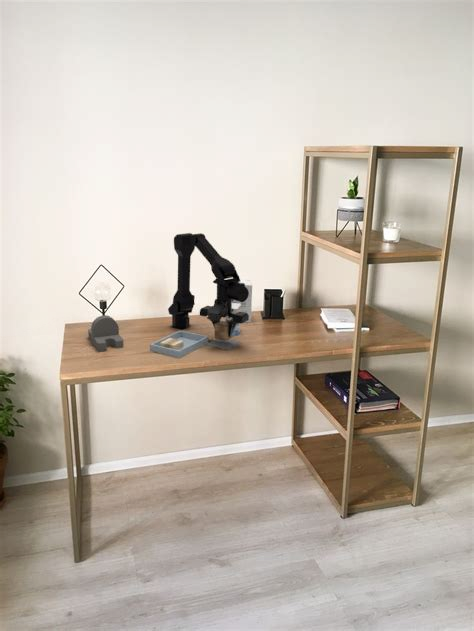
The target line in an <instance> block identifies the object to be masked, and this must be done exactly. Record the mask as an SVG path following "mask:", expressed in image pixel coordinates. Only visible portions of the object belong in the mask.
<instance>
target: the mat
mask: <svg viewBox="0 0 474 631" xmlns="http://www.w3.org/2000/svg"><path fill="white" fill-rule="evenodd" d="M241 343H242V341H239V340H236V339H229V340H227V341H222V340H217V339H215V338H214V339H213V340H211V341H210V342H209V343H207V344H205V346H209V347H214V348H217V349H223V350H227V351H229V350H231V349H232V348H234V347H235V346H238V345H239V344H241Z"/></svg>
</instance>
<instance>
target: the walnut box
mask: <svg viewBox="0 0 474 631" xmlns="http://www.w3.org/2000/svg"><path fill="white" fill-rule="evenodd" d="M228 330H229V324H228V323H227V322H226V320H225V321H224V320H220V322H218V323H216V324H215V329H214V340H215V339H217V340H222V341H227V340H229V339H230V340H232V339H233V335H231V337H229V336H228ZM232 334H233V333H232Z"/></svg>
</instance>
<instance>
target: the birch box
mask: <svg viewBox="0 0 474 631" xmlns="http://www.w3.org/2000/svg"><path fill="white" fill-rule="evenodd" d="M160 343H161V346H162V347H166V348H170V349H174V350H181V349H183V341H182V340H177V339H173V338H169V339H167V340H165V341H163V342H160Z"/></svg>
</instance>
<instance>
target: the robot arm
mask: <svg viewBox="0 0 474 631" xmlns="http://www.w3.org/2000/svg"><path fill="white" fill-rule="evenodd" d="M195 249H197V250H198V251H199V252H200V254H201V255H202V256H203V257H204V258H205V259H206V261H207V262H208V263H209V265H210V268H211V270H210V271H211V272H212V274H213V275H214V277H215V279H214V280H213V281H212V283H213V284H216V299H215V298H214V301H213V302H214V303H213V305H212V306H211V305H206V306H203V307H201V308H200V310H199V316H201V317H205V318H206V319H208V320H209V321H210V322H211V324H212V326H213V328H214V330H215V324H216V323H218V322H220V321H221V320H222V318H224V319H226V317H228V318H230V321H228V322H227V323H228V324H229V330H228V336H229V337H231V335H232V333H233V331H234V329H235V327H236V325H237V323H240V324H243V323H247V322H246V321H248V320H249V315H248V313H245V312H240V311H239V312H237V313H235V314H234V313H232V312H233V309H232V301H234V300H236V301H239V302H244V301H246V300H247V298H248V295H249V292H248V289H247V288H246V287H245V283H239V282H240V280H241V279H240V276H239V274H238V272H237V270H236V267H235V265H234V264H233V263H232V261H231V260H229V259H227V258H225V257H223V256H222V255H220V253H219V252H218V250H217V249H215V248H214V246H213V245H212V244H211V243H210V242H209V240H208V239H207V237H206V235H205V234H204V233H194V234H193V233H192V232H189V233H179V234H176V235H175V236H174V237H173V250H174V251H175V253H176V255H177V288H176V292H175V293H174V295H173V299H172V304H171V305H170V306H169V307H168V309H167V311H168V314H169V315H171V318H172V319H171V322H172V324H171V326H169V328H171V329H177V330H179V331H180V330H181V331H184V330H185V329H187V328H189V327H192V325H191V324H190V316H189V315H190V314H191V313H193V309H194V307H195V306H194V305H195V295H194V294H192V292H191V290H190V289H191V286H190V285H191V260H192V259H191V258H192V257H191V256H192V255H193V253H194V252H195ZM232 336H233V335H232Z"/></svg>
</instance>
